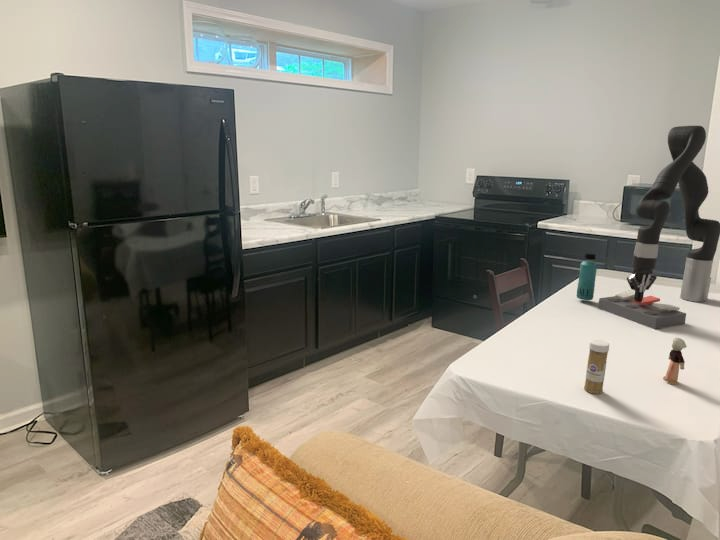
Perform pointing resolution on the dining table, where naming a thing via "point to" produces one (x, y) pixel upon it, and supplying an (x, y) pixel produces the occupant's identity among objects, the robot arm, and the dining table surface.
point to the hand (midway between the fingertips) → (638, 301)
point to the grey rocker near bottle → (626, 295)
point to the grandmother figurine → (675, 361)
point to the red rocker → (647, 300)
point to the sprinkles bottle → (596, 366)
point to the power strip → (642, 313)
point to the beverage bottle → (587, 278)
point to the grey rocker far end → (666, 306)
